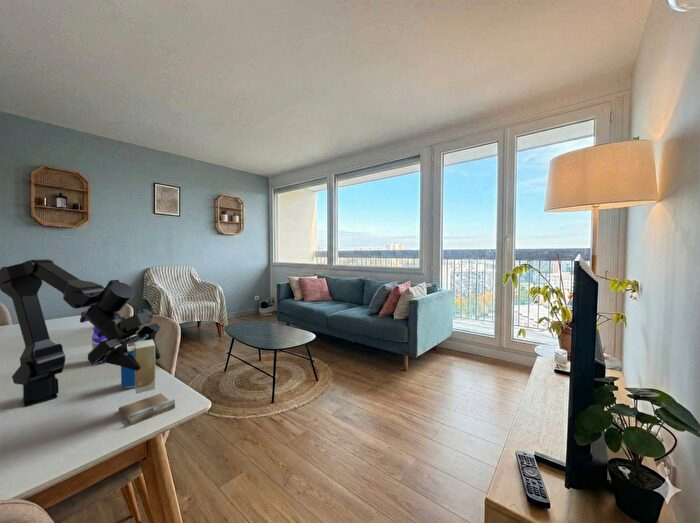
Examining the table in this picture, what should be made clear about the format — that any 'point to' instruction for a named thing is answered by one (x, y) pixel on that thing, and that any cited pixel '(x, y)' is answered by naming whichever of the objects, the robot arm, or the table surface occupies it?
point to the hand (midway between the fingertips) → (149, 363)
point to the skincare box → (145, 366)
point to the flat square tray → (146, 408)
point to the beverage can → (128, 372)
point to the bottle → (96, 339)
